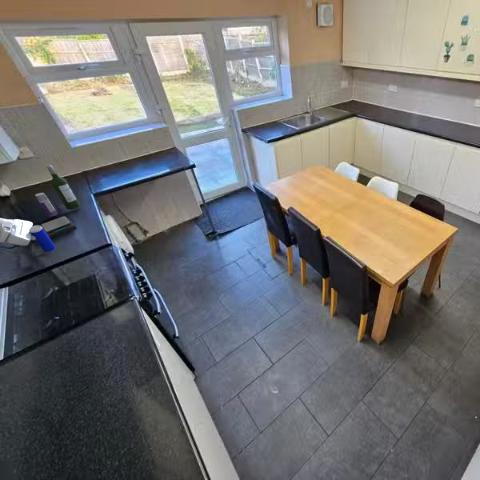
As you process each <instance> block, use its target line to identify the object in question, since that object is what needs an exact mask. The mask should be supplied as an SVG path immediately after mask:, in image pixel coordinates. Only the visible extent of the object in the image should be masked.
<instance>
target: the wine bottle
mask: <svg viewBox="0 0 480 480" xmlns="http://www.w3.org/2000/svg"><path fill="white" fill-rule="evenodd" d="M45 167H46V168H47V170H48V172H49V174H50V176H51V178H52V179H51V181H50V184H51V186H52V187H53V189H54V191H55V192H56V194H57V196H58V197H59V199H60V200H61V202H62V204H63V205H64V207H65V208H66V209H67V210H75V209H78V208H80V207H81V203H80V202H79V200H78V198H77V196H76V194H75V193H74V191H73V189H72V188H71V186H70V184H69V182H68V180H67V179H66V178H64V177H61V176H59V175H58V173H57V172H56V170H55V169H54V167H53V165H51V164H46V166H45Z"/></svg>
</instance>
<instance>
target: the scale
mask: <svg viewBox="0 0 480 480" xmlns="http://www.w3.org/2000/svg"><path fill="white" fill-rule="evenodd" d="M65 217H66V219H67V220H68V221H69V222H70V223H71V224H68V225H66V226H63V227H61V228H58V229H56V230H53V231H50V232H48V233H47V232H46V231H45V229H44V228H43V227H42V225H40V226H41V227H42V228H43V229H44V231H45V232H46V233H47V235H48V236H49V238H50V239H52V238H55V237H58V236H61V235H64V234H66V233H69V232H72V231H74V230H77V229H78V228H77V226H76V225H75V224H74V223H73V222H72V220H71V219H70V218H69V217H68V216H65Z"/></svg>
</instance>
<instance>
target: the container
mask: <svg viewBox="0 0 480 480" xmlns="http://www.w3.org/2000/svg"><path fill="white" fill-rule="evenodd" d="M34 196H35V198H36V199H37V201H38V202H39V204H40V206H41V207H42V209H43V210H44V211H45V213H47V216H48V217H55V216H57V215H58V212H57V210H56V208H55V207H54V206H53V204H52V203H51V201H50V200H49V198H48V196H47V195H46V194H45V193H44V192H39V193H35V195H34Z"/></svg>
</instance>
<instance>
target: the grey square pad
mask: <svg viewBox="0 0 480 480" xmlns="http://www.w3.org/2000/svg"><path fill="white" fill-rule="evenodd" d="M66 217H67V216H65V215H63V216H61V217H60V216H59V217H58V218H55V219H53V220H49V221H47V222H44V223H42V224H40V226H42V227H43V228H44V229H45V231H46V232H47V233H48V232H50V231H53V230H56V229H58V228H61V227H63V226H66V225H68V224H71V223H70V222H69V221H68V220H67V219H66Z"/></svg>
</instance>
